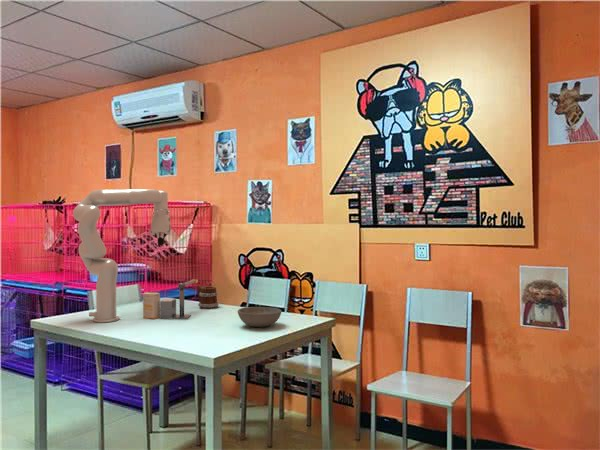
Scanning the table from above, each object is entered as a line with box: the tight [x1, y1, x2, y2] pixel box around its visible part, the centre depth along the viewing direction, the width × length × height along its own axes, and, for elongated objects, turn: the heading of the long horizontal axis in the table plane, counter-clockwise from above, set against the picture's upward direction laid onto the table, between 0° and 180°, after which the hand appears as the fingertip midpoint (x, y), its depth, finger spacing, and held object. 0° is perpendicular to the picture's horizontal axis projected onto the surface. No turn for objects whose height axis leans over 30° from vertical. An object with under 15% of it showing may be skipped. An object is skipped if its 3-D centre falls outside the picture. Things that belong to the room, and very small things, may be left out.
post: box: [171, 288, 192, 320], centre depth 253 cm, size 8×8×16 cm
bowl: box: [237, 306, 283, 328], centre depth 233 cm, size 21×21×8 cm
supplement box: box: [142, 291, 161, 320], centre depth 254 cm, size 8×5×13 cm, turn 58°
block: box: [159, 298, 177, 320], centre depth 254 cm, size 6×8×9 cm
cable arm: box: [177, 279, 199, 289], centre depth 261 cm, size 20×4×2 cm, turn 171°
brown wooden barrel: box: [196, 284, 219, 310], centre depth 284 cm, size 12×14×15 cm
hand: (160, 245), depth 272 cm, fingers closed
